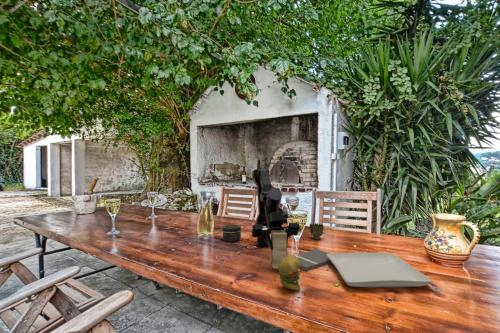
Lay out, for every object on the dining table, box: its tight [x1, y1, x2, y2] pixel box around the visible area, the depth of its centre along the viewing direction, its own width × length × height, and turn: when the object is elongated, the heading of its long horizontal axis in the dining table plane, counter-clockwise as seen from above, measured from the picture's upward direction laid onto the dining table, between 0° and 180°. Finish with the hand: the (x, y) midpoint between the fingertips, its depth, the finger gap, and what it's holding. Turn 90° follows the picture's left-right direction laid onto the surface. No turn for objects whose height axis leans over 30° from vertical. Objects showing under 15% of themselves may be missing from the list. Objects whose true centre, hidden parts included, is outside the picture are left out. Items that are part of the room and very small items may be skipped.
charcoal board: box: [292, 248, 333, 272], centre depth 115 cm, size 13×20×2 cm, turn 124°
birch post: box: [270, 230, 288, 269], centre depth 105 cm, size 5×5×13 cm
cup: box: [309, 222, 324, 241], centre depth 149 cm, size 8×7×8 cm
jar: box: [222, 224, 242, 244], centre depth 149 cm, size 10×10×8 cm
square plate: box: [326, 252, 433, 288], centre depth 100 cm, size 27×27×4 cm
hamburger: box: [277, 254, 301, 291], centre depth 90 cm, size 8×7×12 cm
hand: (279, 249), depth 104 cm, fingers closed on birch post, 5 cm apart
